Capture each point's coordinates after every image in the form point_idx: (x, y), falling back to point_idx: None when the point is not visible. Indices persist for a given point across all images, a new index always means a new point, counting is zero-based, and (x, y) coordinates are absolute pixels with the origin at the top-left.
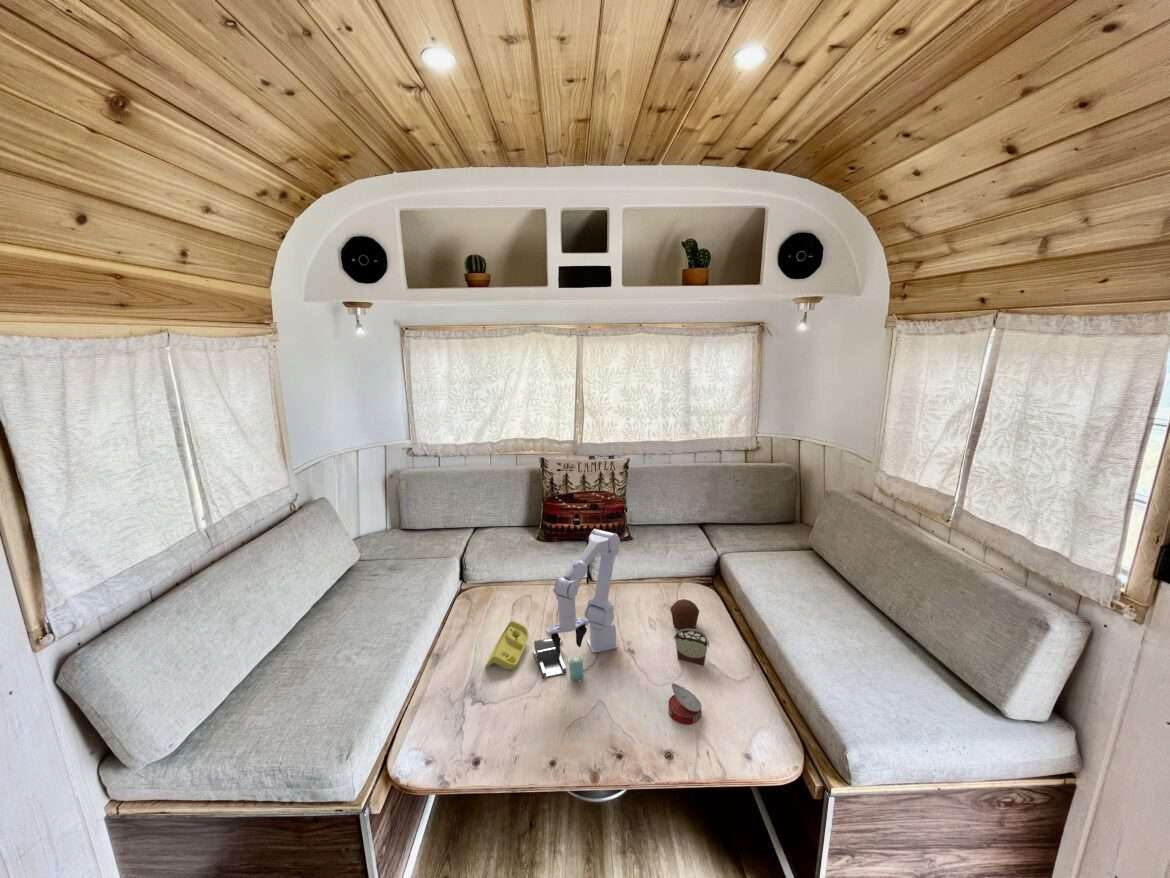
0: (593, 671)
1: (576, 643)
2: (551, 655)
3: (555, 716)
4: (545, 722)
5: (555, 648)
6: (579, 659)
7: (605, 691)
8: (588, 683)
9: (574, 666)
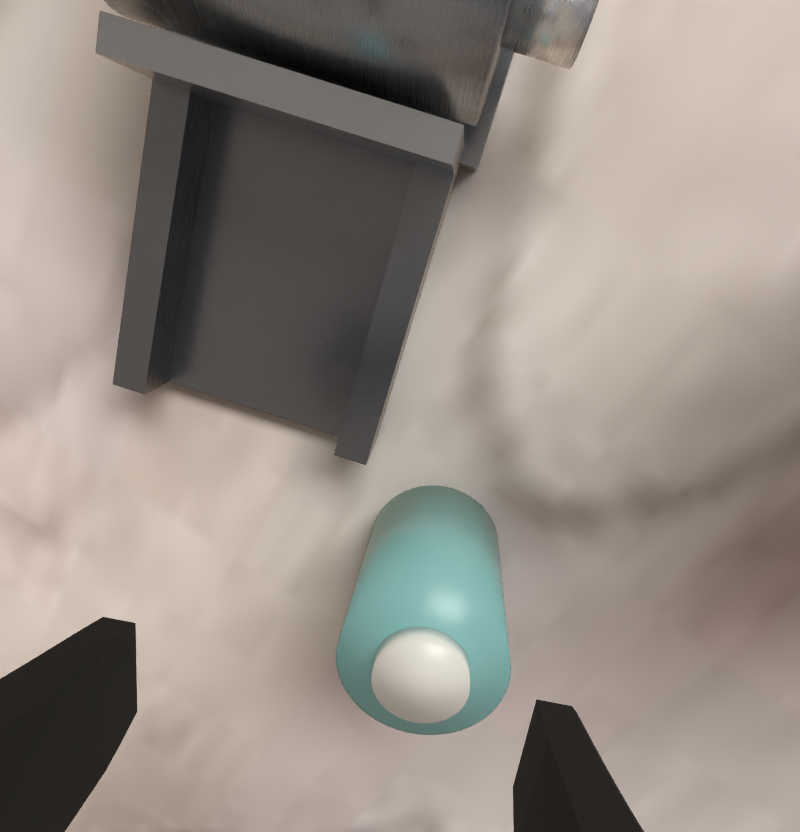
0: (614, 578)
1: (539, 711)
2: (336, 137)
3: None
4: None
5: (62, 641)
6: (460, 704)
7: None
8: None
9: (360, 696)
